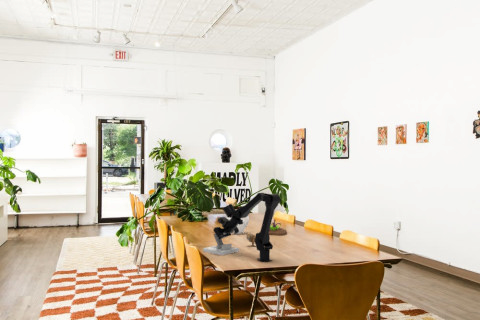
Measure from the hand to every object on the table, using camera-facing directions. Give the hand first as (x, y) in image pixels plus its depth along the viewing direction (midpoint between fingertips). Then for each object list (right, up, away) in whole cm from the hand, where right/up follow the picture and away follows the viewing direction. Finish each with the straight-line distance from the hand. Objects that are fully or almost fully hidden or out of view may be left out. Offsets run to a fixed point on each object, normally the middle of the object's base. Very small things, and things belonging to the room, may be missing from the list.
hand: (219, 238), depth 280 cm
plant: (+40, -9, +69) cm, 80 cm away
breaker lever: (+1, -5, -1) cm, 5 cm away
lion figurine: (+24, -8, +16) cm, 30 cm away
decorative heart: (+11, -8, +62) cm, 63 cm away
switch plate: (+1, -8, -1) cm, 8 cm away
